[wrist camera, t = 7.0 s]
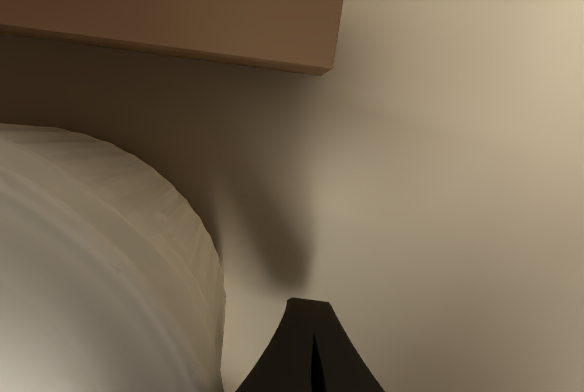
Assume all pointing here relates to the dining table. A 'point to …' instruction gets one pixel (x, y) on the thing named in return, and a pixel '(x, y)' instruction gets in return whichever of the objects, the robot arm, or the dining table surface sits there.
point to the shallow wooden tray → (190, 28)
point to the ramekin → (101, 272)
